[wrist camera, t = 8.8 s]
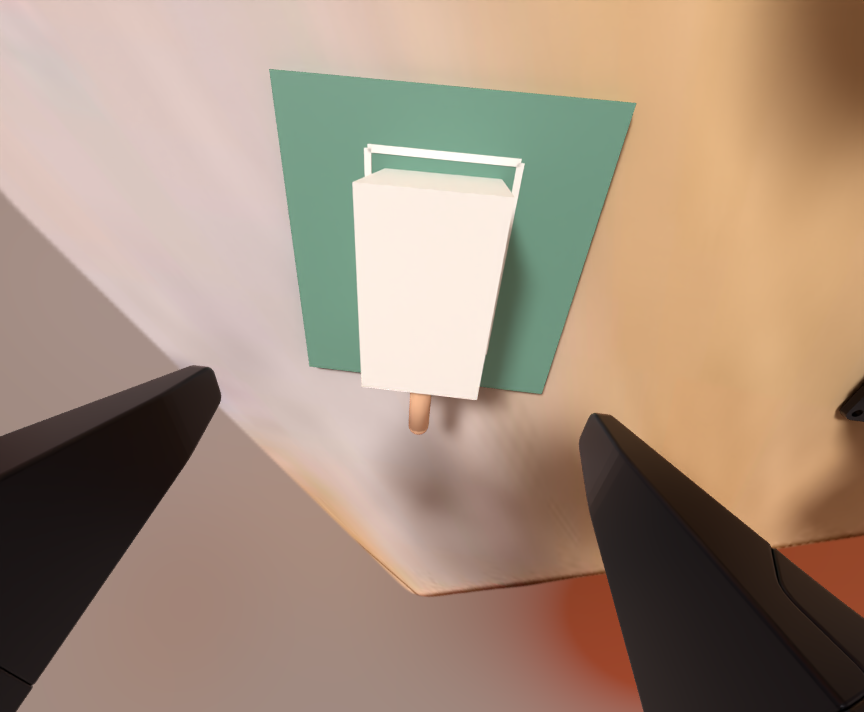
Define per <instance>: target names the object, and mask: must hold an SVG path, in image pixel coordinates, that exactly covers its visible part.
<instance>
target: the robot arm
mask: <svg viewBox="0 0 864 712" xmlns="http://www.w3.org/2000/svg"><path fill="white" fill-rule="evenodd" d="M220 401H221V392H220V389H219V386H218V383H217V379H216V376H215V373H214V371H213V370H212V369H211V368H209V367H205V366H196V365H193V366H189V367H186V368H183V369H181V370H178V371H175V372H173V373H170V374H167V375H164V376H162V377H159V378H156V379H154V380H151V381H148V382H146V383H143V384H140V385H138V386H135V387H132V388H130V389H127V390H124V391H122V392H119V393H116V394H114V395H111V396H108V397H105V398H103V399H100V400H97V401H94V402H92V403H89V404H86V405H84V406H81V407H78V408H76V409H73V410H70V411H68V412H65V413H62V414H60V415H57V416H54V417H51V418H49V419H46V420H43V421H41V422H38V423H35V424H33V425H30V426H27V427H24V428H22V429H19V430H16V431H14V432H11V433H8V434H6V435H3V436H0V712H16V711H17V710H18V708H19V707H20V705H21V704H22V702H23V701H24V699H25V698H26V697H27V695H28V694H29V692H30V691H31V689H32V687H33V686H32V685H33V684H35V683H36V681H37V680H38V678H39V677H40V676H41V674H42V673H43V671H44V670H45V668H46V667H47V665H48V664H49V663H50V661H51V660H52V658H53V657H54V655H55V654H56V652H57V651H58V649H59V648H60V647H61V645H62V644H63V642H64V641H65V639H66V638H67V636H68V635H69V633H70V632H71V631H72V629H73V627H74V626H75V625H76V623H77V622H78V620H79V619H80V617H81V616H82V615H83V613H84V612H85V610H86V609H87V607H88V606H89V604H90V603H91V601H92V600H93V599H94V597H95V596H96V594H97V593H98V591H99V590H100V588H101V587H102V585H103V584H104V583H105V581H106V580H107V578H108V577H109V575H110V574H111V572H112V571H113V569H114V568H115V566H116V565H117V563H118V562H119V561H120V559H121V558H122V556H123V555H124V553H125V552H126V550H127V549H128V547H129V546H130V545H131V543H132V542H133V540H134V539H135V537H136V536H137V534H138V533H139V531H140V530H141V529H142V527H143V526H144V524H145V523H146V521H147V520H148V518H149V517H150V516H151V514H152V513H153V511H154V510H155V508H156V507H157V505H158V504H159V502H160V501H161V499H162V498H163V497H164V495H165V494H166V492H167V491H168V489H169V488H170V486H171V485H172V484H173V482H174V481H175V479H176V478H177V476H178V475H179V473H180V472H181V470H182V469H183V467H184V466H185V464H186V463H187V461H188V460H189V458H190V457H191V455H192V453H193V451H194V450H195V448H196V446H197V444H198V442H199V441H200V439H201V437H202V435H203V433H204V432H205V430H206V428H207V426H208V424H209V422H210V421H211V419H212V417H213V415H214V413H215V411H216V410H217V408H218V406H219V404H220ZM840 413H841V414H842V415H843V416H844V417H846V418H847V419H849V420H854V421H863V422H864V385H863V386H862V387H861V388H860V389H859V390H858V391H857V392H856V393H855V394H854V395H853V396H852V397H851V398H850V399H849V400H848V402H847V403H846V404H845V405H844V406H843V407H842V408H841V409H840ZM579 450H580V457H581V463H582V470H583V476H584V483H585V489H586V496H587V502H588V507H589V512H590V516H591V520H592V524H593V527H594V531H595V535H596V538H597V542H598V546H599V549H600V553H601V557H602V560H603V564H604V568H605V571H606V575H607V579H608V582H609V586H610V589H611V593H612V597H613V600H614V604H615V608H616V612H617V615H618V619H619V622H620V626H621V630H622V634H623V638H624V641H625V645H626V649H627V652H628V656H629V660H630V663H631V667H632V670H633V674H634V678H635V682H636V685H637V689H638V692H639V696H640V700H641V704H642V707H643V711H644V712H864V618H863V617H861V616H860V615H859V614H857V613H856V612H855V611H853V610H852V609H851V608H850V607H848V606H847V605H846V604H844V603H843V602H842V601H840V600H839V599H838V598H836V597H835V596H834V595H833V594H831V593H830V592H829V591H828V590H826V589H825V588H824V587H822V586H821V585H820V584H818V583H817V582H816V581H815V580H814V579H812V578H811V577H810V576H809V575H807V574H806V573H805V572H804V571H802V570H801V569H800V568H798V567H797V566H796V565H795V564H794V563H792V562H791V561H790V560H789V559H788V558H786V557H785V556H784V555H783V554H781V553H780V552H779V551H778V550H777V549H775V548H771V546H770V544H769V543H768V542H767V541H765V540H764V539H763V538H762V537H760V536H759V535H758V534H757V533H756V532H754V531H753V530H752V529H751V528H749V527H748V526H747V525H746V524H744V523H743V522H742V521H741V520H740V519H738V518H737V517H736V516H735V515H733V514H732V513H731V512H730V511H729V510H727V509H726V508H725V507H724V506H722V505H721V504H720V503H719V502H717V501H716V500H715V499H714V498H713V497H711V496H710V495H709V494H708V493H706V492H705V491H704V490H703V489H701V488H700V487H699V486H698V485H697V484H695V483H694V482H693V481H692V480H690V479H689V478H688V477H687V476H685V475H684V474H683V473H682V472H681V471H679V470H678V469H677V468H676V467H674V466H673V465H672V464H671V463H670V462H668V461H667V460H666V459H665V458H663V457H662V456H661V455H660V454H658V453H657V452H656V451H655V450H654V449H652V448H651V447H650V446H649V445H647V444H646V443H645V442H644V441H642V440H641V439H640V438H639V437H638V436H636V435H635V434H634V433H633V432H631V431H630V430H629V429H628V428H627V427H625V426H624V425H623V424H622V423H620V422H619V421H618V420H617V419H615V418H614V417H613V416H611V415H608V414H600V413H593V414H591V415H590V417H589V418H588V421H587V423H586V425H585V427H584V430H583V432H582V434H581V436H580V440H579Z"/></svg>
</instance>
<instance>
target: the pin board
mask: <svg viewBox="0 0 864 712" xmlns="http://www.w3.org/2000/svg"><path fill="white" fill-rule="evenodd" d="M269 71H270V78H271V86H272V93H273V100H274V108H275V115H276V123H277V130H278V137H279V145H280V152H281V159H282V167H283V174H284V181H285V189H286V196H287V204H288V211H289V218H290V226H291V233H292V240H293V248H294V255H295V262H296V270H297V277H298V285H299V292H300V299H301V307H302V314H303V321H304V329H305V336H306V343H307V351H308V358H309V366H311V367H319V368H327V369H336V370H344V371H353V372H361V362H360V340H359V318H358V296H357V274H356V252H355V230H354V208H353V186H352V182H354V181H356V180H358V179H361V178H363V177H366V176H368V175H370V174H373V173H375V172H377V171H380V170H382V169H384V168H388V169H399V170H409V171H420V172H431V173H441V174H452V175H463V176H474V177H484V178H495V179H502V180H503V181H504V183H505V184H506V186H507V187H508V188H509V190H510V191H511V193H512V194H513V195H514V197H515V201H514V206H513V212H512V217H511V222H510V227H509V233H508V238H507V243H506V249H505V254H504V259H503V264H502V270H501V275H500V280H499V286H498V291H497V296H496V301H495V307H494V312H493V317H492V323H491V328H490V333H489V338H488V344H487V349H486V354H485V360H484V365H483V370H482V376H481V381H480V386H479V387H487V388H496V389H504V390H512V391H521V392H529V393H538V394H542V391H543V388H544V385H545V382H546V379H547V376H548V373H549V370H550V367H551V364H552V361H553V358H554V355H555V351H556V348H557V345H558V342H559V339H560V336H561V333H562V330H563V327H564V324H565V321H566V318H567V315H568V312H569V308H570V305H571V302H572V299H573V296H574V293H575V290H576V287H577V284H578V281H579V278H580V275H581V272H582V269H583V266H584V262H585V259H586V256H587V253H588V250H589V247H590V244H591V241H592V238H593V235H594V232H595V229H596V226H597V223H598V219H599V216H600V213H601V210H602V207H603V204H604V201H605V198H606V195H607V192H608V189H609V186H610V183H611V180H612V177H613V173H614V170H615V167H616V164H617V161H618V158H619V155H620V152H621V149H622V146H623V143H624V140H625V137H626V134H627V130H628V127H629V124H630V121H631V118H632V115H633V112H634V109H635V106H636V103H630V102H620V101H609V100H598V99H587V98H576V97H566V96H555V95H544V94H533V93H522V92H512V91H501V90H490V89H479V88H468V87H458V86H447V85H436V84H425V83H415V82H404V81H393V80H382V79H371V78H361V77H350V76H339V75H328V74H317V73H307V72H296V71H285V70H274V69H269Z"/></svg>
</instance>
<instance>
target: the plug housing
mask: <svg viewBox="0 0 864 712" xmlns="http://www.w3.org/2000/svg"><path fill="white" fill-rule="evenodd" d="M352 186H353V208H354V230H355V252H356V274H357V296H358V318H359V340H360V362H361V384H362V387H367V388H376V389H385V390H393V391H402V392H410V408H409V429H410V430H411V432H412V433H414V434H417V435H420V434H423V433H425V432H426V430H427V429H428V424H429V414H430V403H431V395H437V396H445V397H454V398H463V399H471V400H477V397H478V391H479V386H480V381H481V376H482V370H483V365H484V360H485V354H486V349H487V344H488V338H489V333H490V328H491V323H492V317H493V312H494V307H495V301H496V296H497V291H498V286H499V280H500V275H501V270H502V264H503V259H504V254H505V249H506V243H507V238H508V233H509V227H510V222H511V217H512V212H513V206H514V201H515V197H514V195H513V194H512V193H511V191H510V190H509V188H508V187H507V186H506V184H505V183H504V181H503V180H502V179H495V178H484V177H474V176H463V175H452V174H441V173H431V172H420V171H409V170H399V169H388V168H384V169H382V170H380V171H377V172H375V173H373V174H370V175H368V176H366V177H363V178H361V179H358V180H356V181H354V182H352Z"/></svg>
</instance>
